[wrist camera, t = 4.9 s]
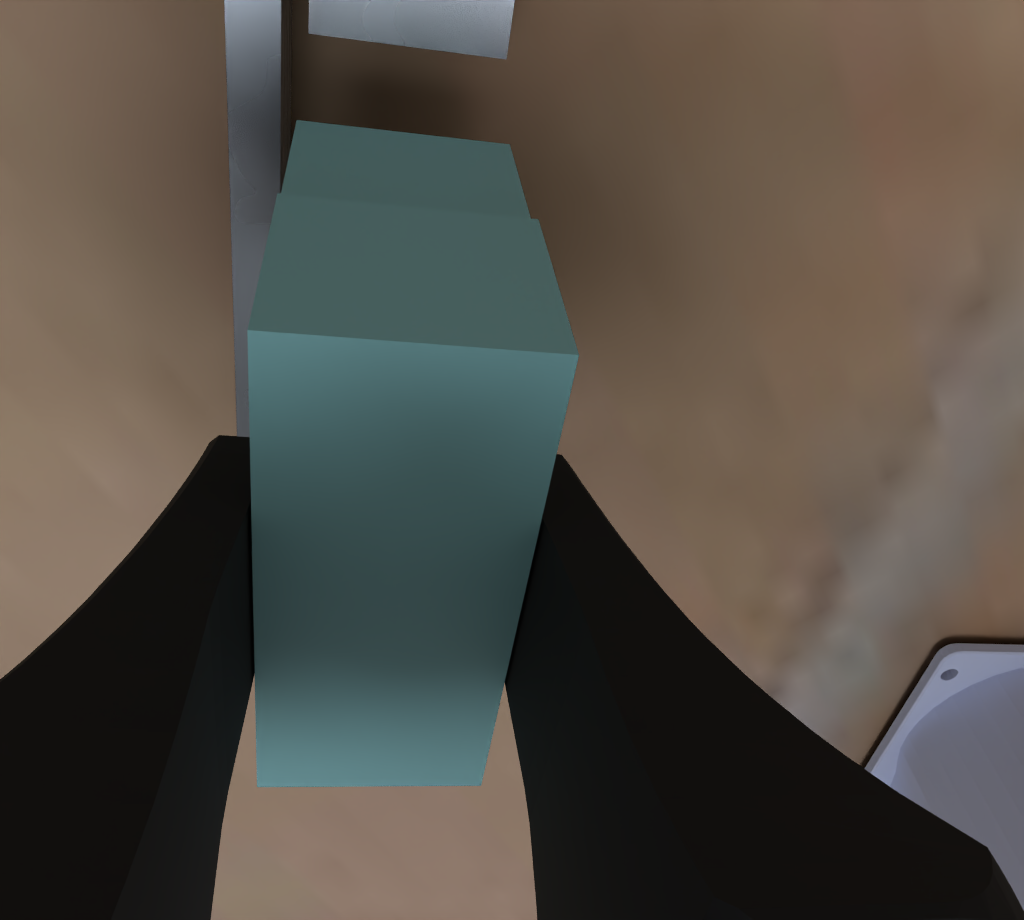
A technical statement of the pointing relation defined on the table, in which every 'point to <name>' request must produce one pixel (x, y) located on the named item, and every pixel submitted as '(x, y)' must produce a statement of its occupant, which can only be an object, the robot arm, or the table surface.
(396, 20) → the rail
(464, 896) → the table surface
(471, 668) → the clip
